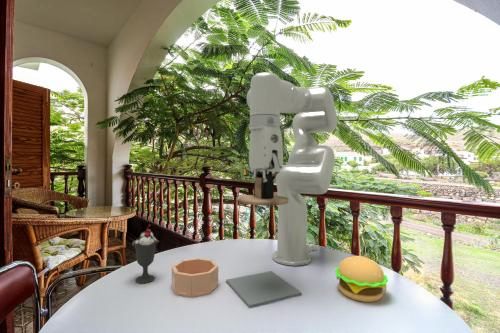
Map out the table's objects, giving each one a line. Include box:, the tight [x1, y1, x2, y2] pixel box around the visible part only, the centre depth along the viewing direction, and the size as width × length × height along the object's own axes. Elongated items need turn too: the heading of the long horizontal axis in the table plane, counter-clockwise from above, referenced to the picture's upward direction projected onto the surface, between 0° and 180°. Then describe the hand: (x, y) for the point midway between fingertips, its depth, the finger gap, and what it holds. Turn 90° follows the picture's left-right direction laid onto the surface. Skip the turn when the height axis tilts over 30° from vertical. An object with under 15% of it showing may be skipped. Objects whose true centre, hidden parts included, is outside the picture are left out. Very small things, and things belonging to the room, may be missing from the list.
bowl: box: [170, 257, 219, 298], centre depth 66 cm, size 11×11×5 cm
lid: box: [238, 178, 288, 206], centre depth 66 cm, size 12×12×6 cm
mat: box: [225, 271, 303, 309], centre depth 66 cm, size 14×14×1 cm
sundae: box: [131, 224, 160, 285], centre depth 69 cm, size 7×7×15 cm
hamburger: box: [334, 255, 389, 303], centre depth 64 cm, size 12×12×9 cm
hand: (263, 196), depth 66 cm, fingers closed on lid, 3 cm apart
